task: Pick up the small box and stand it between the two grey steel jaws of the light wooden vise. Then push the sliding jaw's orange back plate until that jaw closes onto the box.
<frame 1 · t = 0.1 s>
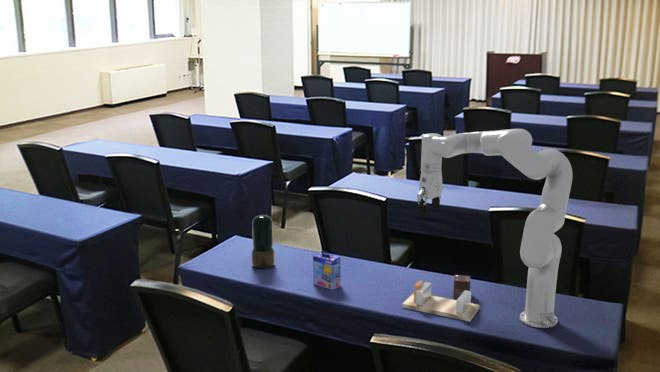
hand: (429, 211, 253), 31 cm above the table, tool pointing down, fingers open, 9 cm apart
fixed jaw: (463, 302, 239), on the vise base, point 4 cm above the table
vise base: (450, 310, 242), on the table
box: (461, 296, 254), on the table
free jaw: (421, 291, 246), point 5 cm above the table, slide at 0.0 cm
ink cartridge box: (326, 285, 264), on the table
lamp: (263, 266, 284), on the table
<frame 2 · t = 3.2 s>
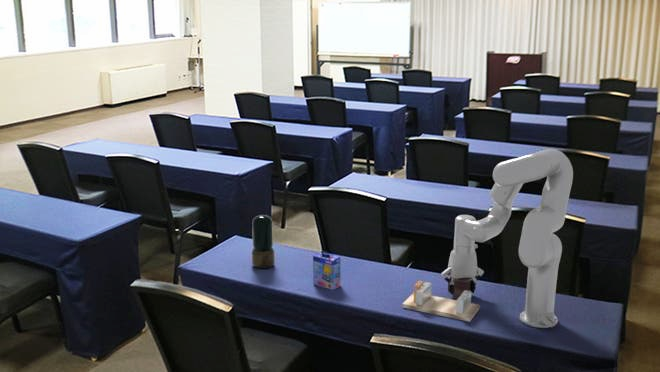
hand: (461, 292, 254), 2 cm above the table, tool pointing down, fingers closed on box, 7 cm apart
box: (461, 296, 254), on the table, touching gripper
everything else where it was.
when the fingers open (4 cm above the table, at t = 9.3 s): box stays where it is, resting on vise base.
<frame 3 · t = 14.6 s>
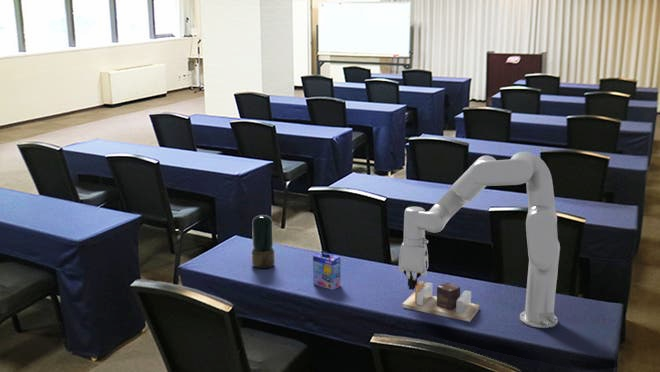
hand: (412, 288, 247), 5 cm above the table, tool pointing down, fingers closed
box: (447, 306, 242), point 1 cm above the table, touching vise base
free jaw: (422, 291, 246), point 5 cm above the table, slide at 0.5 cm, touching gripper
everything else where it was.
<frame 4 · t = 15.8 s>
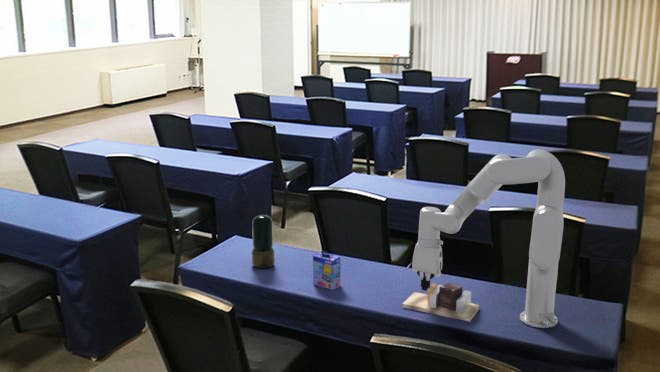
hand: (425, 289, 245), 6 cm above the table, tool pointing down, fingers closed
box: (450, 306, 242), point 1 cm above the table, touching fixed jaw, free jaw, vise base
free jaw: (435, 294, 243), point 5 cm above the table, slide at 5.2 cm, touching box, gripper
everything else where it was.
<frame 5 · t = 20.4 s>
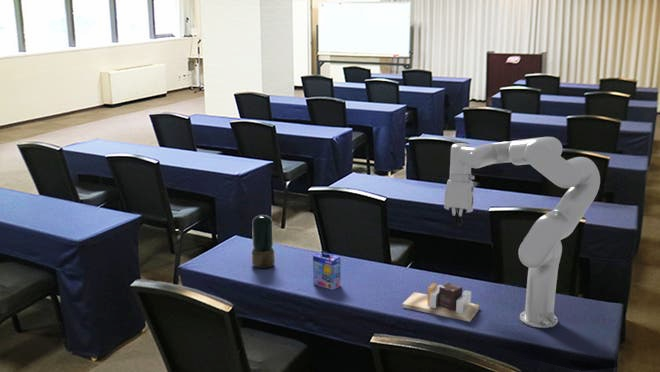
hand: (457, 225, 250), 27 cm above the table, tool pointing down, fingers closed
box: (450, 306, 242), point 1 cm above the table, touching vise base
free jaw: (435, 294, 243), point 5 cm above the table, slide at 5.2 cm
everything else where it was.
at the end: box 0.1 cm off-centre on the vise base, point 1.3 cm above the vise base's base; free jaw slide at 5.2 cm; box tilted 0° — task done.
